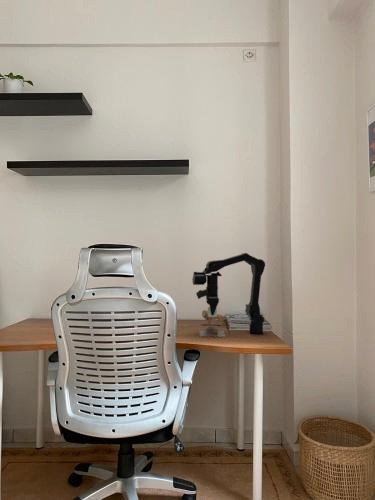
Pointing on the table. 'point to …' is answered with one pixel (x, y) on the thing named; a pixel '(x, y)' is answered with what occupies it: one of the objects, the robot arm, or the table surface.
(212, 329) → the walnut block
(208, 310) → the sage cube
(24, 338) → the table surface
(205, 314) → the lion figurine
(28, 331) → the table surface
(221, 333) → the slate pad
